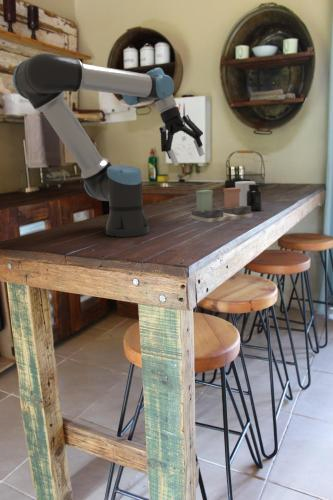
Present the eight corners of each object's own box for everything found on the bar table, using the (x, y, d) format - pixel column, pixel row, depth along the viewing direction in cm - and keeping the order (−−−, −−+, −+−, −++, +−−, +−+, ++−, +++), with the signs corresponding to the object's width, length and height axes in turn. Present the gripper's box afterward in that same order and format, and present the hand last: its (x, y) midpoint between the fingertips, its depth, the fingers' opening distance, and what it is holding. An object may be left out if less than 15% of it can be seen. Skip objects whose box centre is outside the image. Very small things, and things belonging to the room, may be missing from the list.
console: (208, 222, 170) (208, 211, 169) (190, 218, 183) (189, 207, 182) (252, 217, 180) (252, 206, 179) (232, 213, 193) (232, 203, 191)
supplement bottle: (260, 209, 202) (261, 183, 200) (262, 211, 196) (263, 184, 193) (245, 209, 203) (246, 183, 200) (247, 211, 196) (247, 185, 194)
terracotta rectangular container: (229, 212, 183) (229, 189, 180) (223, 211, 187) (223, 188, 184) (240, 211, 185) (240, 188, 183) (233, 210, 189) (234, 187, 187)
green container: (201, 215, 176) (201, 191, 174) (195, 214, 180) (195, 190, 178) (213, 214, 179) (213, 190, 177) (207, 213, 183) (206, 189, 181)
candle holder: (231, 206, 216) (231, 182, 213) (249, 205, 219) (249, 181, 216) (240, 208, 207) (240, 183, 204) (258, 207, 210) (259, 182, 207)
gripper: (197, 95, 163) (218, 148, 168) (151, 119, 180) (171, 166, 185) (187, 98, 158) (208, 153, 163) (140, 122, 175) (161, 171, 179)
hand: (188, 160), depth 174 cm, fingers open, 13 cm apart
